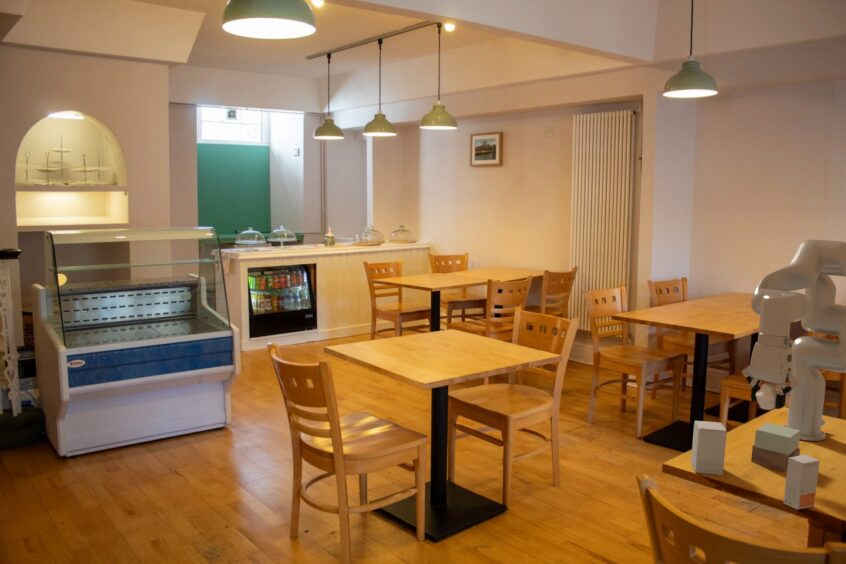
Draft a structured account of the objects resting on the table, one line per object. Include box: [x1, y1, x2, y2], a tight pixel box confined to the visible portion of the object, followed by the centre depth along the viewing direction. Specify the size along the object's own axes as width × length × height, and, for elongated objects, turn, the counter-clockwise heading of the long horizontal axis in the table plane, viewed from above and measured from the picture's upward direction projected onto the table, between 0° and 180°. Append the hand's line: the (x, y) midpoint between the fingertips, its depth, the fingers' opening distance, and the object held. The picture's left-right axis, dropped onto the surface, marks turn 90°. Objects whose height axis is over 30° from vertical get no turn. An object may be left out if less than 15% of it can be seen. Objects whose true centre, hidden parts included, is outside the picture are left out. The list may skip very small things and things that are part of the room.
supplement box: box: [690, 420, 727, 476], centre depth 200 cm, size 7×7×13 cm
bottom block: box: [750, 444, 801, 473], centre depth 207 cm, size 9×9×5 cm
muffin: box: [756, 383, 779, 411], centre depth 199 cm, size 6×6×7 cm
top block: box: [753, 422, 800, 455], centre depth 206 cm, size 9×9×5 cm
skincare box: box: [783, 454, 820, 511], centre depth 179 cm, size 6×4×12 cm
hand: (767, 404), depth 199 cm, fingers closed on muffin, 6 cm apart
